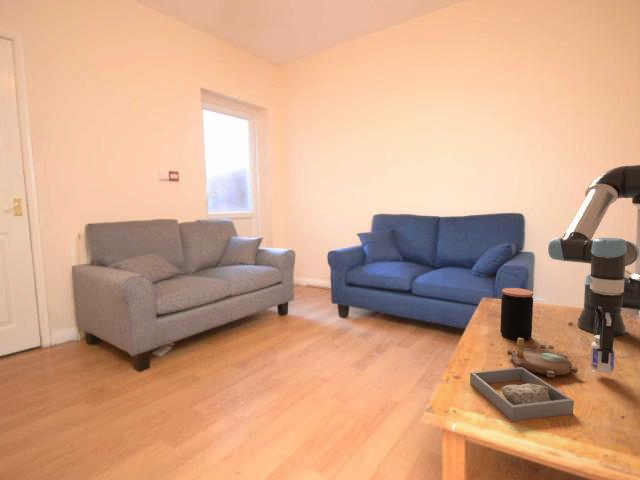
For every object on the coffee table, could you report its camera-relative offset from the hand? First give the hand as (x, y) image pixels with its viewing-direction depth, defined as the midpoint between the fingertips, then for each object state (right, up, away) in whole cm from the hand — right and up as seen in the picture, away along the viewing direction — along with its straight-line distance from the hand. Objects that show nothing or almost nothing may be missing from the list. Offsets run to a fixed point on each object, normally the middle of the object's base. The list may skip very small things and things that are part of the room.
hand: (601, 367), depth 102 cm
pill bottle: (0, -1, 0) cm, 1 cm away
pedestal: (-14, -2, +7) cm, 16 cm away
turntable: (-14, -1, +7) cm, 15 cm away
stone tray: (-30, -5, -9) cm, 32 cm away
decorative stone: (-29, -5, -12) cm, 32 cm away
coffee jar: (-7, 0, +32) cm, 33 cm away
